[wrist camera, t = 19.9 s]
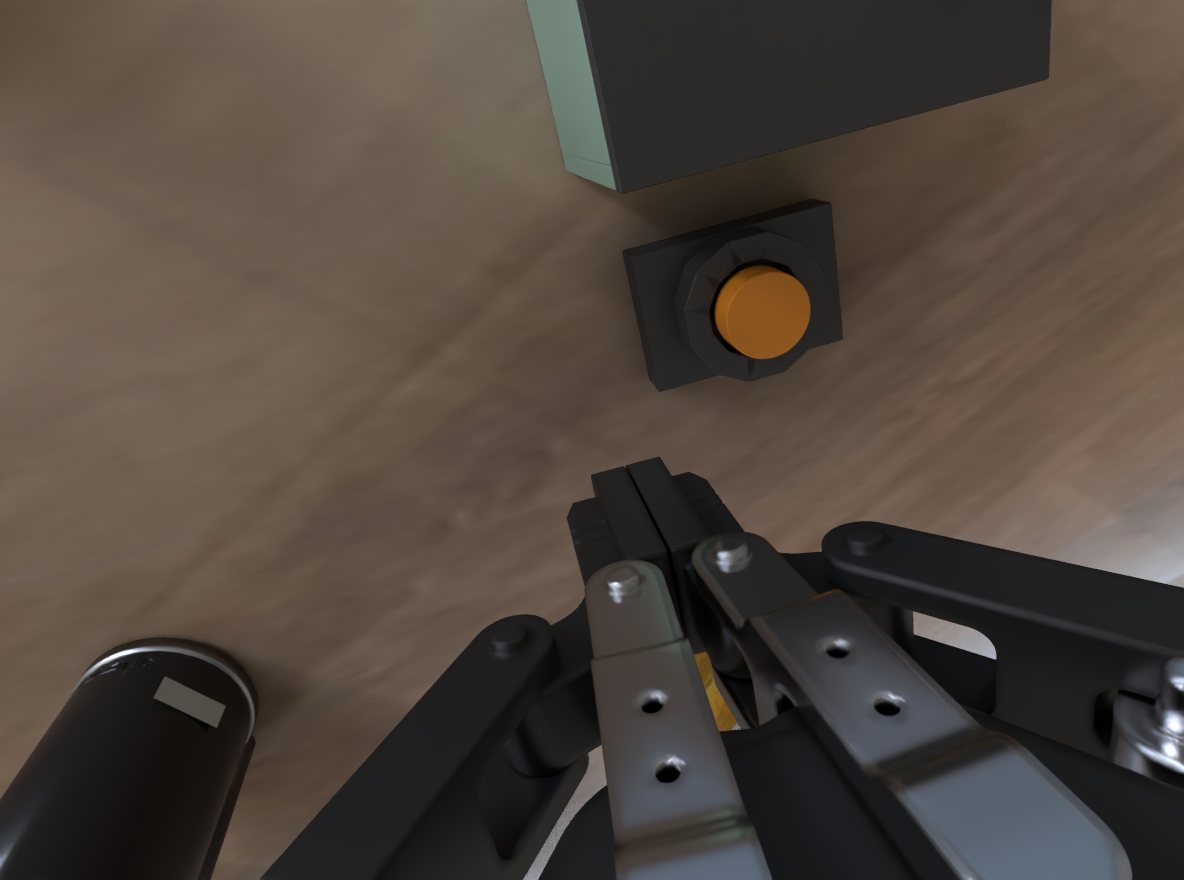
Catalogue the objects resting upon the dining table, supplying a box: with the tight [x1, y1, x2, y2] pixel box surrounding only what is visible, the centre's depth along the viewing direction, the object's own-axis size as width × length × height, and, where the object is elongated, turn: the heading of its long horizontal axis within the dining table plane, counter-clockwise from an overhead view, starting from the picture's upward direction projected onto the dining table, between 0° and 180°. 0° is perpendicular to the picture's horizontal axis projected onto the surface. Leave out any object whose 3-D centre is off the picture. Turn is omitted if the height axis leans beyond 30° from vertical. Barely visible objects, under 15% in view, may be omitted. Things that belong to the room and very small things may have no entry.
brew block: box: [623, 199, 843, 392], centre depth 36 cm, size 10×7×4 cm
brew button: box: [715, 265, 811, 359], centre depth 33 cm, size 4×4×2 cm
